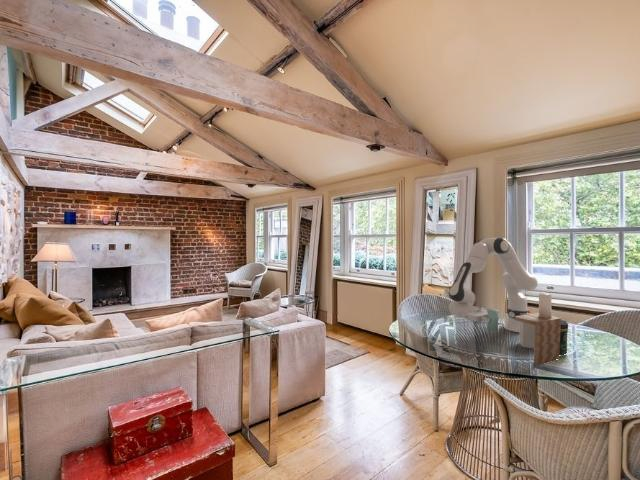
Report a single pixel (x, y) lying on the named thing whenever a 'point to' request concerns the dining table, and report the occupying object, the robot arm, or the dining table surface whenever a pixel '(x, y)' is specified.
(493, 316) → the sage green cylinder
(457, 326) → the dining table surface
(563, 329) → the coffee jar
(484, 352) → the dining table surface
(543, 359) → the walnut counter
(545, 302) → the white glossy cylinder
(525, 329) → the milk carton
